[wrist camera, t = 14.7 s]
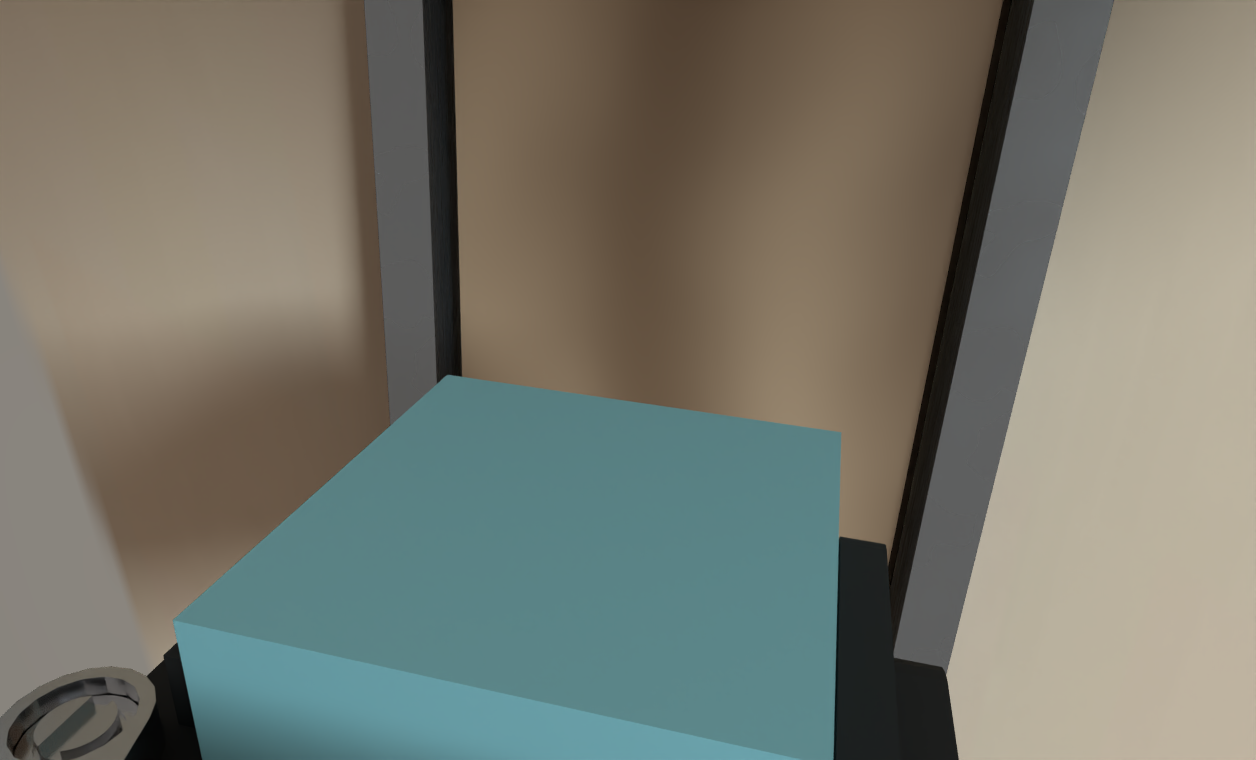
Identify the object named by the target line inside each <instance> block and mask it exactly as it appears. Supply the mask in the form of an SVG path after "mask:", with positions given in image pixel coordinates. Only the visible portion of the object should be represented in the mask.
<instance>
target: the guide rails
mask: <svg viewBox="0 0 1256 760" xmlns="http://www.w3.org/2000/svg"><path fill="white" fill-rule="evenodd" d="M1113 2H1114V0H1012V2H1011V7H1010V11H1009V16H1008V21H1007V26H1006V31H1005V36H1004V40H1003V45H1002V50H1001V55H1000V60H999V65H998V70H997V74H996V79H995V84H994V89H993V94H992V99H991V103H990V108H989V113H988V118H987V123H986V128H985V132H984V137H983V142H982V147H981V152H980V157H979V162H978V166H977V171H976V176H975V181H974V186H973V191H972V195H971V200H970V205H969V210H968V215H967V220H966V224H965V229H964V234H963V239H962V244H961V249H960V254H959V258H958V263H957V268H956V273H955V278H954V283H953V287H952V292H951V297H950V302H949V307H948V312H947V316H946V321H945V326H944V331H943V336H942V341H941V346H940V350H939V355H938V360H937V365H936V370H935V375H934V379H933V384H932V389H931V394H930V399H929V404H928V408H927V413H926V418H925V423H924V428H923V433H922V438H921V442H920V447H919V452H918V457H917V462H916V467H915V471H914V476H913V481H912V486H911V491H910V496H909V500H908V505H907V510H906V515H905V520H904V525H903V530H902V534H901V539H900V544H899V549H898V554H897V559H896V563H895V568H894V573H893V578H892V583H891V588H890V606H891V621H892V637H893V652H894V658H899V659H904V660H909V661H914V662H919V663H924V664H929V665H935V666H940V667H942V668H943V669H944V671H945V673H947V669H948V665H949V661H950V657H951V653H952V649H953V645H954V641H955V637H956V633H957V629H958V625H959V621H960V617H961V613H962V609H963V605H964V601H965V597H966V593H967V589H968V585H969V581H970V577H971V573H972V569H973V565H974V561H975V557H976V553H977V549H978V545H979V541H980V537H981V533H982V529H983V525H984V521H985V517H986V513H987V509H988V505H989V501H990V497H991V493H992V489H993V485H994V481H995V476H996V472H997V468H998V464H999V460H1000V456H1001V452H1002V448H1003V444H1004V440H1005V436H1006V432H1007V428H1008V424H1009V420H1010V416H1011V412H1012V408H1013V404H1014V400H1015V396H1016V392H1017V388H1018V384H1019V380H1020V376H1021V372H1022V368H1023V364H1024V360H1025V356H1026V352H1027V348H1028V344H1029V340H1030V336H1031V332H1032V328H1033V324H1034V320H1035V316H1036V312H1037V308H1038V304H1039V300H1040V296H1041V292H1042V288H1043V284H1044V280H1045V276H1046V272H1047V268H1048V264H1049V259H1050V255H1051V251H1052V247H1053V243H1054V239H1055V235H1056V231H1057V227H1058V223H1059V219H1060V215H1061V211H1062V207H1063V203H1064V199H1065V195H1066V191H1067V187H1068V183H1069V179H1070V175H1071V171H1072V167H1073V163H1074V159H1075V155H1076V151H1077V147H1078V143H1079V139H1080V135H1081V131H1082V127H1083V123H1084V119H1085V115H1086V111H1087V107H1088V103H1089V99H1090V95H1091V91H1092V87H1093V83H1094V79H1095V75H1096V71H1097V67H1098V63H1099V59H1100V55H1101V51H1102V46H1103V42H1104V38H1105V34H1106V30H1107V26H1108V22H1109V18H1110V14H1111V10H1112V6H1113ZM364 7H365V23H366V39H367V55H368V71H369V88H370V104H371V120H372V136H373V152H374V169H375V185H376V201H377V217H378V234H379V250H380V266H381V282H382V298H383V315H384V331H385V347H386V363H387V379H388V396H389V412H390V426H391V425H392V424H393V423H394V422H395V421H396V420H397V419H398V418H400V417H401V416H402V415H403V414H404V413H405V412H406V411H407V410H409V409H410V408H411V407H412V406H413V405H414V404H415V403H416V402H417V401H419V400H420V399H421V398H422V397H423V396H424V395H425V394H426V393H428V392H429V391H430V390H431V389H432V388H433V387H434V386H435V385H436V384H438V383H439V382H440V381H441V380H442V379H443V378H444V377H445V376H447V375H453V376H460V377H462V352H461V312H460V272H459V232H458V192H457V152H456V112H455V72H454V32H453V0H364Z"/></svg>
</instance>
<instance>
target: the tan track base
mask: <svg viewBox="0 0 1256 760" xmlns="http://www.w3.org/2000/svg"><path fill="white" fill-rule="evenodd" d="M1002 3H1003V0H453V32H454V72H455V112H456V152H457V192H458V232H459V272H460V312H461V352H462V377H466V378H473V379H480V380H487V381H494V382H501V383H507V384H514V385H521V386H528V387H535V388H542V389H548V390H555V391H562V392H569V393H576V394H583V395H590V396H596V397H603V398H610V399H617V400H624V401H631V402H637V403H644V404H651V405H658V406H665V407H672V408H679V409H685V410H692V411H699V412H706V413H713V414H720V415H726V416H733V417H740V418H747V419H754V420H761V421H768V422H774V423H781V424H788V425H795V426H802V427H809V428H815V429H822V430H829V431H836V432H841V466H840V507H839V538H840V536H841V537H847V538H853V539H859V540H864V541H870V542H876V543H882V544H885V545H886V548H887V560H888V565H889V560H890V555H891V550H892V545H893V540H894V535H895V530H896V525H897V520H898V515H899V511H900V506H901V501H902V496H903V491H904V486H905V481H906V476H907V471H908V466H909V461H910V456H911V451H912V446H913V442H914V437H915V432H916V427H917V422H918V417H919V412H920V407H921V402H922V397H923V392H924V387H925V382H926V377H927V373H928V368H929V363H930V358H931V353H932V348H933V343H934V338H935V333H936V328H937V323H938V318H939V313H940V308H941V304H942V299H943V294H944V289H945V284H946V279H947V274H948V269H949V264H950V259H951V254H952V249H953V244H954V239H955V235H956V230H957V225H958V220H959V215H960V210H961V205H962V200H963V195H964V190H965V185H966V180H967V175H968V170H969V166H970V161H971V156H972V151H973V146H974V141H975V136H976V131H977V126H978V121H979V116H980V111H981V106H982V101H983V97H984V92H985V87H986V82H987V77H988V72H989V67H990V62H991V57H992V52H993V47H994V42H995V37H996V32H997V28H998V23H999V18H1000V13H1001V8H1002Z"/></svg>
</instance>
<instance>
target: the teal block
mask: <svg viewBox="0 0 1256 760" xmlns="http://www.w3.org/2000/svg"><path fill="white" fill-rule="evenodd" d="M840 466H841V432H836V431H829V430H822V429H815V428H809V427H802V426H795V425H788V424H781V423H774V422H768V421H761V420H754V419H747V418H740V417H733V416H726V415H720V414H713V413H706V412H699V411H692V410H685V409H679V408H672V407H665V406H658V405H651V404H644V403H637V402H631V401H624V400H617V399H610V398H603V397H596V396H590V395H583V394H576V393H569V392H562V391H555V390H548V389H542V388H535V387H528V386H521V385H514V384H507V383H501V382H494V381H487V380H480V379H473V378H466V377H460V376H453V375H447V376H445V377H444V378H443V379H442V380H441V381H440V382H439V383H438V384H436V385H435V386H434V387H433V388H432V389H431V390H430V391H429V392H428V393H426V394H425V395H424V396H423V397H422V398H421V399H420V400H419V401H417V402H416V403H415V404H414V405H413V406H412V407H411V408H410V409H409V410H407V411H406V412H405V413H404V414H403V415H402V416H401V417H400V418H398V419H397V420H396V421H395V422H394V423H393V424H392V425H391V426H389V427H388V428H387V429H386V430H385V431H384V432H383V433H382V434H381V435H379V436H378V437H377V438H376V439H375V440H374V441H373V442H372V443H370V444H369V445H368V446H367V447H366V448H365V449H364V450H363V451H362V452H360V453H359V454H358V455H357V456H356V457H355V458H354V459H353V460H351V461H350V462H349V463H348V464H347V465H346V466H345V467H344V468H342V469H341V470H340V471H339V472H338V473H337V474H336V475H335V476H334V477H332V478H331V479H330V480H329V481H328V482H327V483H326V484H325V485H323V486H322V487H321V488H320V489H319V490H318V491H317V492H316V493H315V494H313V495H312V496H311V497H310V498H309V499H308V500H307V501H306V502H304V503H303V504H302V505H301V506H300V507H299V508H298V509H297V510H296V511H294V512H293V513H292V514H291V515H290V516H289V517H288V518H287V519H285V520H284V521H283V522H282V523H281V524H280V525H279V526H278V527H276V528H275V529H274V530H273V531H272V532H271V533H270V534H269V535H268V536H266V537H265V538H264V539H263V540H262V541H261V542H260V543H259V544H257V545H256V546H255V547H254V548H253V549H252V550H251V551H250V552H249V553H247V554H246V555H245V556H244V557H243V558H242V559H241V560H240V561H238V562H237V563H236V564H235V565H234V566H233V567H232V568H231V569H229V570H228V571H227V572H226V573H225V574H224V575H223V576H222V577H221V578H219V579H218V580H217V581H216V582H215V583H214V584H213V585H212V586H210V587H209V588H208V589H207V590H206V591H205V592H204V593H203V594H202V595H200V596H199V597H198V598H197V599H196V600H195V601H194V602H193V603H191V604H190V605H189V606H188V607H187V608H186V609H185V610H184V611H182V612H181V613H180V614H179V615H178V616H177V617H176V618H175V619H174V620H173V624H174V628H175V633H176V638H177V643H178V647H179V652H180V657H181V661H182V666H183V671H184V676H185V680H186V685H187V690H188V695H189V699H190V704H191V709H192V713H193V718H194V723H195V728H196V732H197V737H198V742H199V747H200V751H201V756H202V760H833V753H834V712H835V671H836V630H837V589H838V548H839V507H840Z"/></svg>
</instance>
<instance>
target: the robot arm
mask: <svg viewBox="0 0 1256 760" xmlns="http://www.w3.org/2000/svg"><path fill="white" fill-rule="evenodd" d="M163 656H164V660H163V661H162V662H161V663H160V664H159V665H158V666H157V667H156V668H155V669H154V670H153V671H152V672H151V673H150V674H148V676H145V675H143V674H141V673H139V672H137V671H135V670H133V669H128V668H119V667H112V666H111V667H101V668H91V669H86V670H82V671H79V672H75V673H71V674H67V675H64V676H62V677H59V678H57V679H55V680H53V681H50V682H49V683H46V684H44V685H42V686H39V687H38V688H36V689H35V690H33V691H32V692H30V693H29V694H27V695H26V696H24V697H23V698H21V699H20V700H18V701H17V702H16V703H15V704H14V705H13V706H12V707H11V708H10V709H9V710H7V712H5V714H3V715H2V716H1V717H0V760H202V756H201V751H200V747H199V742H198V737H197V732H196V728H195V723H194V718H193V713H192V709H191V704H190V699H189V695H188V690H187V685H186V680H185V676H184V671H183V666H182V661H181V657H180V652H179V647H178V643H176V644H175V645H174V646H173V647H172V648H171V649H170V650H169V651H168V652H167V653H165V654H164V655H163ZM833 760H959V759H958V752H957V745H956V738H955V731H954V724H953V717H952V710H951V703H950V696H949V689H948V682H947V677H946V673H945V671H944V669H943V668H942V667H940V666H935V665H929V664H924V663H919V662H914V661H909V660H904V659H899V658H894V652H893V637H892V621H891V606H890V591H889V575H888V560H887V548H886V545H885V544H882V543H876V542H870V541H864V540H859V539H853V538H847V537H841V536H840V538H839V548H838V589H837V630H836V671H835V712H834V753H833Z"/></svg>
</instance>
